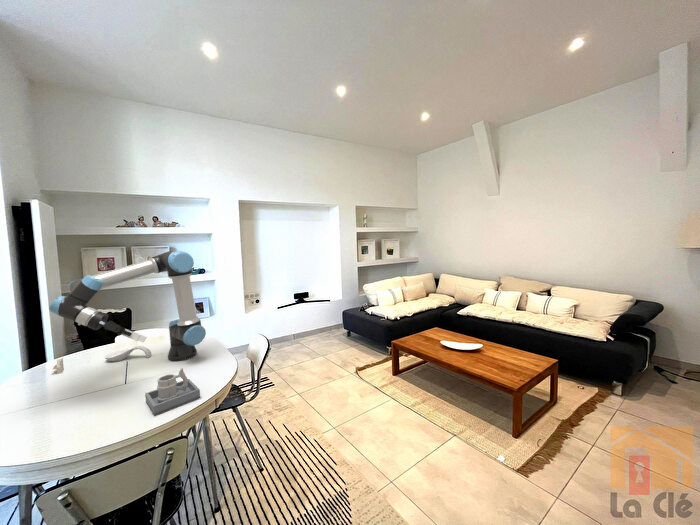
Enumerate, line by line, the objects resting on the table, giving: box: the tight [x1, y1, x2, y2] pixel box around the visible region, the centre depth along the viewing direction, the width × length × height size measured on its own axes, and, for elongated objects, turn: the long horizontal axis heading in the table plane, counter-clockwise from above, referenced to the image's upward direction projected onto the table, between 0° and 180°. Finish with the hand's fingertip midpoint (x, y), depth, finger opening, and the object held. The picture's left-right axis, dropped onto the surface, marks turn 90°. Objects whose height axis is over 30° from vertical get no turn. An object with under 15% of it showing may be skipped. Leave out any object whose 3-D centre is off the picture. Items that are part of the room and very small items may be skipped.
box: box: [144, 378, 201, 417], centre depth 122 cm, size 17×15×4 cm
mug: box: [156, 367, 189, 403], centre depth 122 cm, size 8×12×12 cm, turn 137°
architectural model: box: [52, 357, 65, 375], centre depth 154 cm, size 3×7×7 cm, turn 38°
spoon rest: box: [104, 345, 153, 362], centre depth 170 cm, size 24×12×7 cm, turn 98°
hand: (142, 339), depth 129 cm, fingers open, 13 cm apart
